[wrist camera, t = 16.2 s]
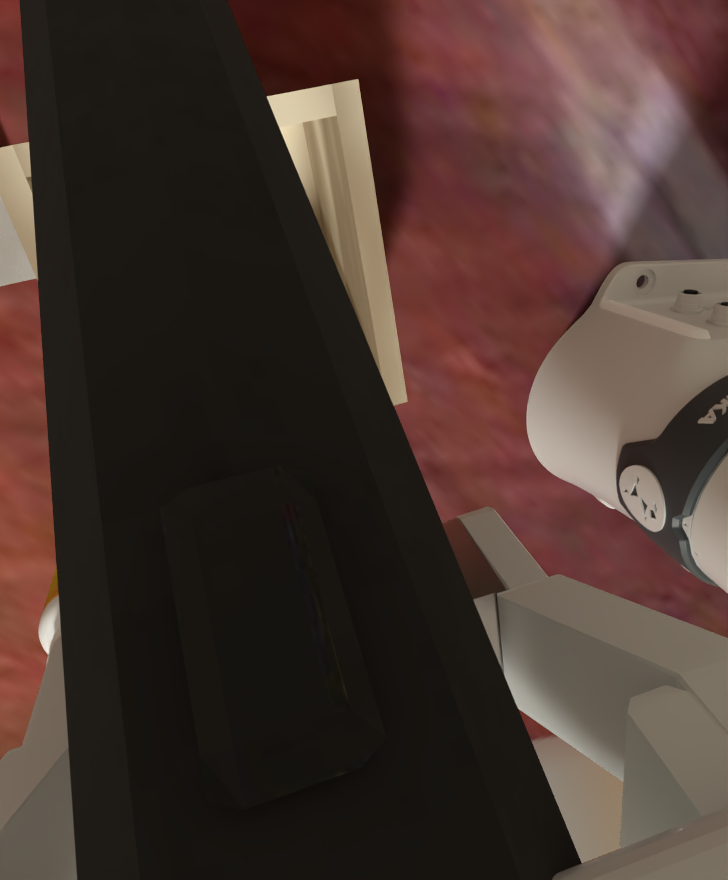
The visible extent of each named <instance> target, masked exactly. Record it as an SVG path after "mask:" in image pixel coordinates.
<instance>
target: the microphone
mask: <svg viewBox="0 0 728 880" xmlns="http://www.w3.org/2000/svg"><path fill="white" fill-rule="evenodd" d="M20 12H21V28H22V43H23V58H24V73H25V89H26V104H27V119H28V135H29V150H30V165H31V181H32V196H33V211H34V227H35V242H36V257H37V273H38V288H39V303H40V319H41V334H42V349H43V365H44V380H45V395H46V410H47V426H48V441H49V456H50V472H51V487H52V502H53V518H54V533H55V548H56V564H57V579H58V594H59V610H60V625H61V640H62V656H63V671H64V686H65V702H66V717H67V732H68V748H69V763H70V778H71V793H72V809H73V824H74V839H75V855H76V870H77V880H552V879H553V877H554V876H555V875H556V874H557V873H559V872H561V871H564V870H566V869H569V868H571V867H574V866H577V865H579V864H582V863H581V861H580V858H579V856H578V853H577V851H576V849H575V846H574V844H573V841H572V839H571V836H570V834H569V832H568V829H567V827H566V824H565V822H564V819H563V817H562V814H561V812H560V810H559V807H558V805H557V803H556V800H555V798H554V795H553V793H552V790H551V788H550V785H549V783H548V780H547V778H546V776H545V773H544V771H543V768H542V766H541V764H540V761H539V759H538V756H537V754H536V751H535V749H534V746H533V744H532V741H531V739H530V737H529V734H528V732H527V729H526V727H525V724H524V722H523V720H522V717H521V715H520V712H519V710H518V707H517V705H516V703H515V700H514V698H513V695H512V693H511V690H510V688H509V685H508V683H507V681H506V678H505V676H504V673H503V671H502V668H501V666H500V664H499V661H498V659H497V656H496V654H495V651H494V649H493V647H492V644H491V642H490V639H489V637H488V634H487V632H486V630H485V627H484V625H483V622H482V620H481V617H480V615H479V612H478V610H477V608H476V605H475V603H474V600H473V598H472V595H471V593H470V591H469V588H468V586H467V583H466V581H465V578H464V576H463V574H462V571H461V569H460V566H459V564H458V561H457V559H456V557H455V554H454V552H453V549H452V547H451V544H450V542H449V539H448V537H447V535H446V532H445V530H444V527H443V525H442V522H441V520H440V518H439V515H438V513H437V510H436V508H435V505H434V503H433V501H432V498H431V496H430V493H429V491H428V488H427V486H426V483H425V481H424V479H423V476H422V474H421V471H420V469H419V466H418V464H417V462H416V459H415V457H414V454H413V452H412V449H411V447H410V445H409V442H408V440H407V437H406V435H405V432H404V430H403V428H402V425H401V423H400V420H399V418H398V415H397V413H396V410H395V408H394V406H393V403H392V401H391V398H390V396H389V393H388V391H387V389H386V386H385V384H384V381H383V379H382V376H381V374H380V372H379V369H378V367H377V364H376V362H375V359H374V357H373V355H372V352H371V350H370V347H369V345H368V342H367V340H366V337H365V335H364V333H363V330H362V328H361V325H360V323H359V320H358V318H357V316H356V313H355V311H354V308H353V306H352V303H351V301H350V299H349V296H348V294H347V291H346V289H345V286H344V284H343V281H342V279H341V277H340V274H339V272H338V269H337V267H336V264H335V262H334V260H333V257H332V255H331V252H330V250H329V247H328V245H327V243H326V240H325V238H324V235H323V233H322V230H321V228H320V226H319V223H318V221H317V218H316V216H315V213H314V211H313V208H312V206H311V204H310V201H309V199H308V196H307V194H306V191H305V189H304V187H303V184H302V182H301V179H300V177H299V174H298V172H297V170H296V167H295V165H294V162H293V160H292V157H291V155H290V153H289V150H288V148H287V145H286V143H285V140H284V138H283V135H282V133H281V131H280V128H279V126H278V123H277V121H276V118H275V116H274V114H273V111H272V109H271V106H270V104H269V101H268V99H267V97H266V94H265V92H264V89H263V87H262V84H261V82H260V79H259V77H258V75H257V72H256V70H255V67H254V65H253V62H252V60H251V58H250V55H249V53H248V50H247V48H246V45H245V43H244V41H243V38H242V36H241V33H240V31H239V28H238V26H237V24H236V21H235V19H234V16H233V14H232V11H231V9H230V6H229V4H228V2H227V0H20Z"/></svg>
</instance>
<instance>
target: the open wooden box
mask: <svg viewBox="0 0 728 880" xmlns="http://www.w3.org/2000/svg"><path fill="white" fill-rule="evenodd" d="M267 99H268V101H269V104H270V106H271V109H272V111H273V114H274V116H275V118H276V121H277V123H278V126H279V128H280V131H281V133H282V135H283V138H284V140H285V143H286V145H287V148H288V150H289V153H290V155H291V157H292V160H293V162H294V165H295V167H296V170H297V172H298V174H299V177H300V179H301V182H302V184H303V187H304V189H305V191H306V194H307V196H308V199H309V201H310V204H311V206H312V208H313V211H314V213H315V216H316V218H317V221H318V223H319V226H320V228H321V230H322V233H323V235H324V238H325V240H326V243H327V245H328V247H329V250H330V252H331V255H332V257H333V260H334V262H335V264H336V267H337V269H338V272H339V274H340V277H341V279H342V281H343V284H344V286H345V289H346V291H347V294H348V296H349V299H350V301H351V303H352V306H353V308H354V311H355V313H356V316H357V318H358V320H359V323H360V325H361V328H362V330H363V333H364V335H365V337H366V340H367V342H368V345H369V347H370V350H371V352H372V355H373V357H374V359H375V362H376V364H377V367H378V369H379V372H380V374H381V376H382V379H383V381H384V384H385V386H386V389H387V391H388V393H389V396H390V398H391V401H392V403H393V405H397V404H401V403H404V402H407V395H406V389H405V382H404V376H403V369H402V363H401V356H400V350H399V343H398V337H397V330H396V323H395V317H394V310H393V304H392V297H391V291H390V284H389V278H388V271H387V265H386V258H385V251H384V245H383V238H382V232H381V225H380V219H379V212H378V206H377V199H376V193H375V186H374V179H373V173H372V166H371V160H370V153H369V147H368V140H367V134H366V127H365V121H364V114H363V107H362V101H361V94H360V88H359V81H358V79H356V80H351V81H345V82H340V83H335V84H330V85H324V86H319V87H314V88H309V89H304V90H298V91H293V92H288V93H283V94H277V95H272V96H267ZM0 196H1V198H2V201H3V203H4V205H5V207H6V210H7V212H8V214H9V216H10V219H11V221H12V223H13V226H14V228H15V230H16V232H17V235H18V237H19V239H20V242H21V244H22V246H23V248H24V251H25V253H26V255H27V258H28V260H29V262H30V264H31V267H32V269H33V271H34V274H35V276H36V278H37V280H38V273H37V257H36V242H35V227H34V211H33V196H32V181H31V165H30V150H29V142H27V143H22V144H17V145H11V146H6V147H1V148H0Z"/></svg>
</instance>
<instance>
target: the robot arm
mask: <svg viewBox="0 0 728 880" xmlns="http://www.w3.org/2000/svg"><path fill="white" fill-rule="evenodd" d="M642 275H644V278H645V280H644V283H643V284H642V286H640V287H637V285H636V283H637V280H638V278H639V277H640V276H642ZM527 432H528V437H529V441H530V444H531V447H532V449H533V451H534V453H535V455H536V457H537V458H538V460H539V461H540V462H541V464H542V465H543V466H544V467H545V468H546V469H547V470H548V471H550V472H551V473H552V474H554V475H555V476H557V477H559V478H561V479H563V480H565V481H567V482H570V483H572V484H574V485H576V486H578V487H580V488H582V489H584V490H585V491H587V492H589V493H591V494H592V495H594V496H595V497H596V498H597V499H598V500H599V501H600V502H601V503H603V504H604V505H606V506H607V507H609V508H612V509H617V510H618V511H620V512H621V513H623V514H625V515H626V516H628V517H629V518H631V519H632V520H634V521H635V522H636V523H637V524H638V525H639V526H640V528H641V529H642V530H643V531H644V532H645V533H646V534H647V535H648V536H649V537H650V538H651V540H653V541H654V542H655V543H656V544H657V545H658V546H659V547H660V548H662V549H663V550H664V551H665V552H666V553H667V554H669V555H670V556H671V557H672V558H673V559H675V560H676V561H677V562H678V563H680V564H681V566H683V567H684V568H685V569H686V570H687V571H689V572H691V573H692V574H693V575H695V576H696V577H697V578H699V579H700V580H701V581H704V582H706V583H708V584H710V585H714V586H718V587H721V588H722V589H723V590H724V591H725V592H727V593H728V259H697V260H666V261H634V262H624V263H621V264H619V265H617V266H616V267H615V268H614V269H612V271H611V272H610V273H609V274H608V276H607V277H606V279H605V280H604V282H603V284H602V285H601V287H600V289H599V291H598V293H597V294H596V296H595V298H594V300H593V302H592V304H591V306H590V307H589V308H588V309H587V311H586V312H585V313H584V314H583V315H582V316H581V317H580V318H579V319H578V320H577V321H576V322H575V323H574V324H573V325H572V326H571V327H570V328H569V329H568V330H567V331H566V332H565V333H564V334H563V335H562V337H561V338H560V339H559V340H558V341H557V343H556V344H555V345H554V346H553V348H552V349H551V351H550V352H549V354H548V355H547V357H546V358H545V360H544V362H543V363H542V365H541V367H540V369H539V371H538V373H537V375H536V377H535V380H534V382H533V385H532V388H531V392H530V395H529V400H528V406H527ZM442 525H443V527H444V530H445V532H446V535H447V537H448V539H449V542H450V544H451V547H452V549H453V552H454V554H455V557H456V559H457V561H458V564H459V566H460V569H461V571H462V574H463V576H464V578H465V581H466V583H467V586H468V588H469V591H470V593H471V595H472V598H473V600H474V603H475V605H476V608H477V610H478V612H479V615H480V617H481V620H482V622H483V625H484V627H485V630H486V632H487V634H488V637H489V639H490V642H491V644H492V647H493V649H494V651H495V654H496V656H497V659H498V661H499V664H500V666H501V668H502V671H503V673H504V676H505V678H506V681H507V683H508V685H509V688H510V690H511V693H512V695H513V698H514V700H515V703H516V705H517V707H518V709H520V710H521V711H523V712H524V713H525V714H527V715H528V716H530V717H531V718H532V719H534V720H535V721H537V722H538V723H540V724H541V725H542V726H544V727H545V728H547V729H548V730H550V731H551V732H552V733H554V734H555V735H557V736H558V737H560V738H561V739H562V740H564V741H565V742H567V743H568V744H570V745H571V746H573V747H574V748H575V749H577V750H578V751H580V752H581V753H582V754H584V755H585V756H587V757H588V758H590V759H591V760H592V761H594V762H595V763H597V764H598V765H600V766H601V767H603V768H604V769H605V770H607V771H608V772H610V773H611V774H612V775H614V776H615V777H617V778H618V779H620V780H621V781H622V782H623V796H622V813H621V831H620V846H621V849H618V850H615V851H613V852H610V853H608V854H605V855H602V856H600V857H597V858H595V859H592V860H590V861H587V862H584V863H582V864H579V865H577V866H574V867H571V868H569V869H566V870H564V871H561V872H559V873H557V874H556V875H555V876H554V877H553V879H552V880H728V638H726V637H723V636H720V635H718V634H715V633H712V632H710V631H707V630H705V629H702V628H699V627H697V626H694V625H691V624H689V623H686V622H684V621H681V620H678V619H676V618H673V617H670V616H668V615H665V614H663V613H660V612H657V611H655V610H652V609H649V608H647V607H644V606H642V605H639V604H636V603H634V602H631V601H628V600H626V599H623V598H621V597H618V596H615V595H613V594H610V593H607V592H605V591H602V590H600V589H597V588H594V587H592V586H589V585H586V584H584V583H581V582H579V581H576V580H573V579H571V578H568V577H565V576H563V575H560V574H558V575H554V576H551V577H548V576H547V575H546V573H545V572H544V571H543V570H542V568H541V567H540V566H539V565H538V563H537V562H536V561H535V560H534V558H533V557H532V556H531V555H530V553H529V552H528V551H527V550H526V548H525V547H524V546H523V545H522V543H521V542H520V541H519V540H518V538H517V537H516V536H515V535H514V533H513V532H512V531H511V530H510V528H509V527H508V526H507V525H506V523H505V522H504V521H503V520H502V518H501V517H500V516H499V515H498V513H497V512H496V511H495V510H494V509H493V508H491V507H488V506H487V507H484V508H481V509H478V510H475V511H472V512H469V513H466V514H463V515H460V516H457V517H455V519H451V520H448V521H444V522H442ZM0 880H77V870H76V855H75V839H74V824H73V809H72V793H71V778H70V763H69V748H68V732H67V717H66V702H65V686H64V671H63V656H62V640H61V636H60V637H59V638H58V639H57V640H56V641H55V642H54V643H53V645H52V649H51V652H50V655H49V658H48V662H47V665H46V668H45V672H44V675H43V678H42V682H41V685H40V688H39V691H38V695H37V698H36V701H35V705H34V708H33V711H32V714H31V718H30V721H29V724H28V728H27V731H26V734H25V738H24V741H23V744H22V746H21V747H18V748H15V749H12V750H9V751H8V752H7V753H6V754H5V755H4V757H3V758H2V759H1V760H0Z"/></svg>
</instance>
